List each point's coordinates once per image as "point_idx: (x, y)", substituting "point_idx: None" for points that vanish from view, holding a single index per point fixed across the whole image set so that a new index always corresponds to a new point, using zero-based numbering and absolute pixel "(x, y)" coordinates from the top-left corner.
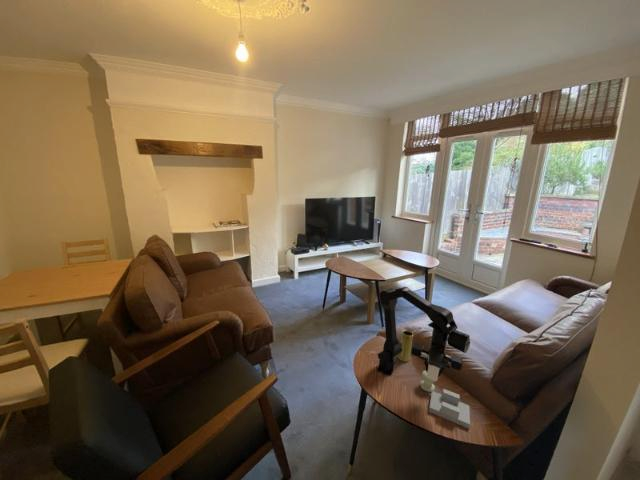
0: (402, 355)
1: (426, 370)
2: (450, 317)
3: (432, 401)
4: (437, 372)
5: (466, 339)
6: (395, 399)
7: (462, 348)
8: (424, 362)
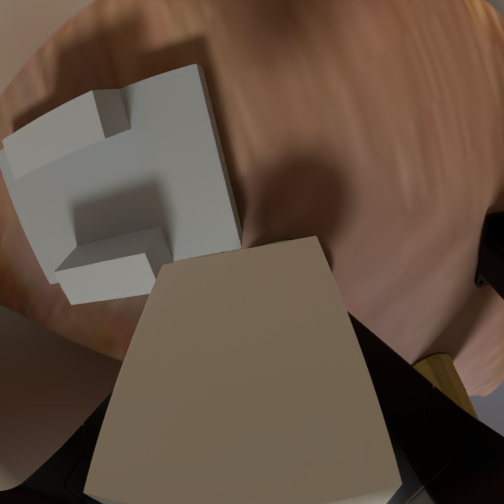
0: (447, 376)
1: (358, 327)
2: None
3: (199, 138)
4: (137, 377)
5: None
6: (418, 27)
7: None
8: (494, 434)
